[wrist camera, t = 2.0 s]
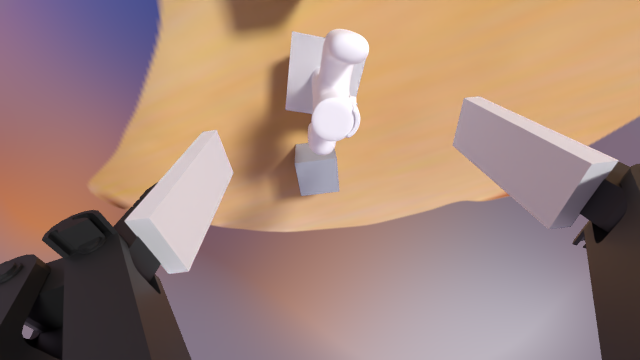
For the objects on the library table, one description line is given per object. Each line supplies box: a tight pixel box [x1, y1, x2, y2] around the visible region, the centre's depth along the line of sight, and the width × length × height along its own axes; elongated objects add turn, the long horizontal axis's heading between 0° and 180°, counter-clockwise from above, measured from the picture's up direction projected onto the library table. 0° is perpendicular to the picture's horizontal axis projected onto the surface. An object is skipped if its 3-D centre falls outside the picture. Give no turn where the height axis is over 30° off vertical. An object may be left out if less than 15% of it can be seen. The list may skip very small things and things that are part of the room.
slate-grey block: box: [295, 143, 339, 196], centre depth 31 cm, size 5×5×5 cm
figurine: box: [285, 29, 369, 155], centre depth 20 cm, size 7×9×15 cm
